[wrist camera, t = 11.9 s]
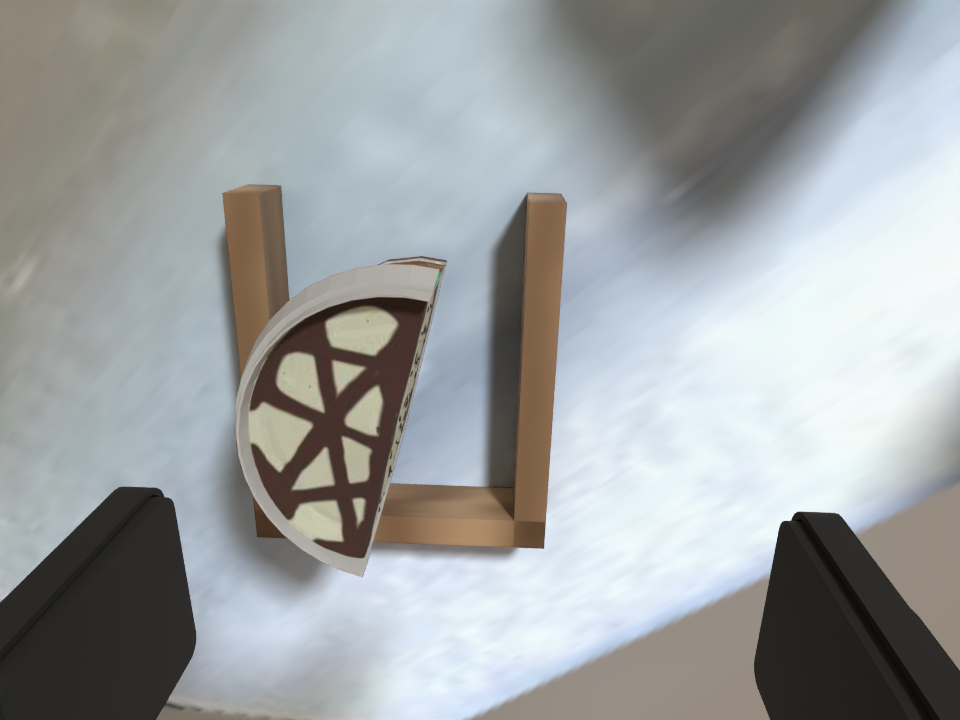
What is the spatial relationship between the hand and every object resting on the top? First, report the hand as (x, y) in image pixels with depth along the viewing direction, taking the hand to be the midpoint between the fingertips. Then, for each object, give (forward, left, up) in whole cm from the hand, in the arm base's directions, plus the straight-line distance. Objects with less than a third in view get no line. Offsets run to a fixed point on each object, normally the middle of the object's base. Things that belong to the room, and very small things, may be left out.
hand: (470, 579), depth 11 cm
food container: (+6, +4, -23) cm, 24 cm away
